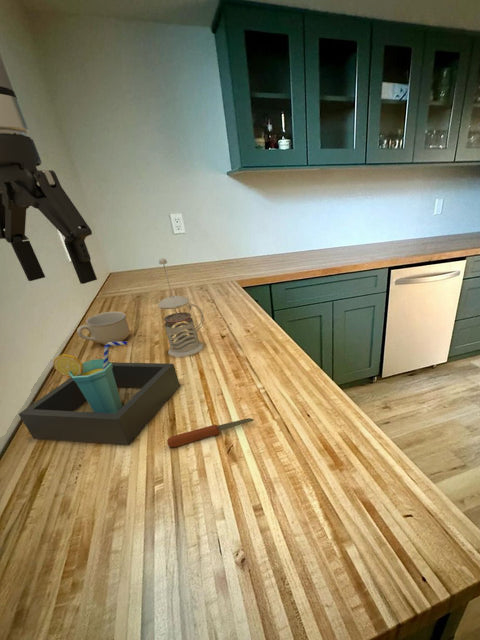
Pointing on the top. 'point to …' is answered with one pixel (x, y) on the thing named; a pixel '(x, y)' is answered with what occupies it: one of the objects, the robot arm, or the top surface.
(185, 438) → the kitchen knife
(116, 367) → the frame
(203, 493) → the top surface
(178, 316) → the french press
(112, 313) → the teacup
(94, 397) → the cup
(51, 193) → the robot arm
